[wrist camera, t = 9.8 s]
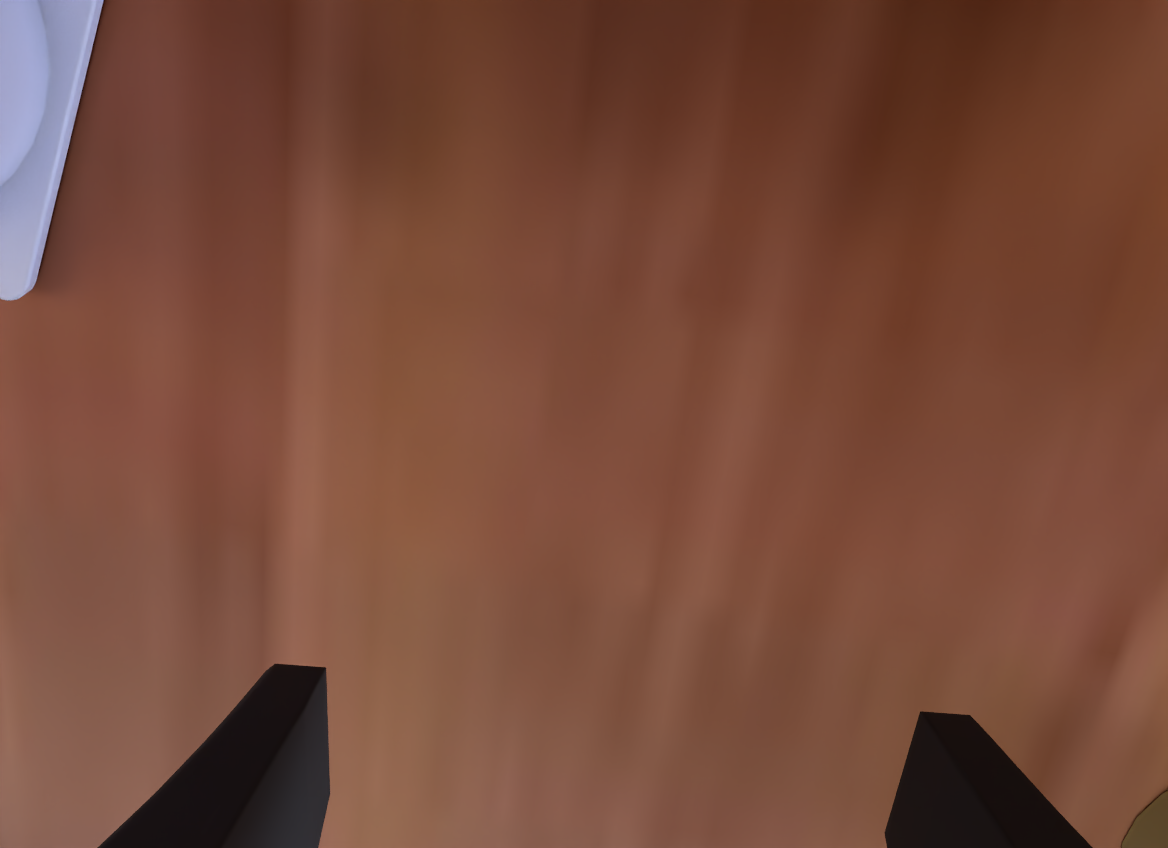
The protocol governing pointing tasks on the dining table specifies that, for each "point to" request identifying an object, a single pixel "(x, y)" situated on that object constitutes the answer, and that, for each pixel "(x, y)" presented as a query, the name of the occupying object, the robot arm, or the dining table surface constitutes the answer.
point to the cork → (1150, 826)
